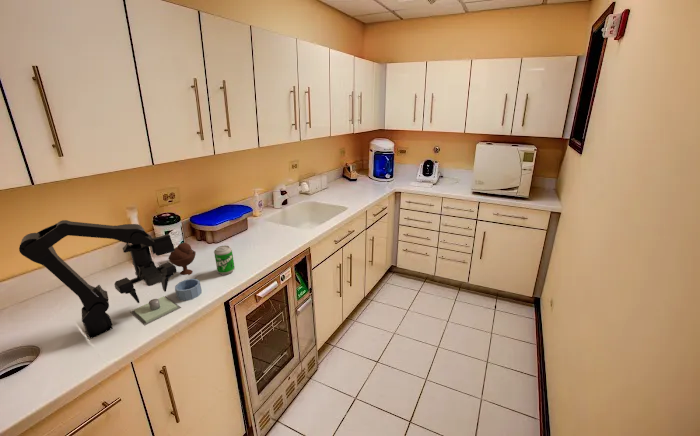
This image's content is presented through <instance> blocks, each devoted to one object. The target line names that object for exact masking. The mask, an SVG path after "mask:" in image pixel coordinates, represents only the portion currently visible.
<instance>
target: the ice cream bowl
mask: <svg viewBox="0 0 700 436" xmlns="http://www.w3.org/2000/svg"><path fill="white" fill-rule="evenodd" d="M177 246H178V247H176V248H174V250H175V251H174V252H171V253H169V254H170V255H169V256H168V258H167V259H168V261H169V263H171V264H173V265H174V266H175V267H181V268H182V270H181V271H180V272H179V275H181V276H186V275H188V276H190V275H192V274H193V270H192V269H190V268H188V266H189V265H190V264H192V263H193V262H194V260H195V259H196V255H197V254H196V251H195V250H193V249H192V246H191V245H190V244H189V243H187V242H181V243H179V244H178V245H177Z"/></svg>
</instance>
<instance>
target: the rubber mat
mask: <svg viewBox="0 0 700 436" xmlns="http://www.w3.org/2000/svg"><path fill="white" fill-rule="evenodd" d="M164 297H166V298H167V299H168V300H170V301H171V302H172V303H174V304H175V305H176V306H177V307H178V308H176V309H174V310H172V311H170V312H168V313H166V314H164V315H162V316H160V317H158V318H156V319H154V320H152V321H150V322H148V323H146V322H145V321H144V320H143V319H141V318H140V317H139V316H138V315H137V314H136V313H135V312H134V309H132V311H130V312H129V313H130V314H132V315H133V317H134V318H135V319H136V320H138V321H139V323H141V324H142V325H143V326H147V325H149V324H151V323H153V322H156V321H157V320H160V319H161V318H164V317H165V316H167V315H169V314H172V313H174V312H175V311H177V310H180V309H182V307H181V306H180V305H179V304H177V303H176V302H175V301H173V300H172V299H171V298H169V297H168V296H167V295H165V296H164Z"/></svg>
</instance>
